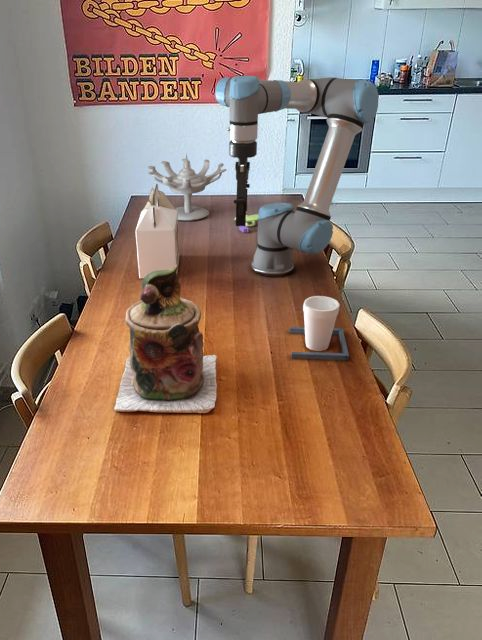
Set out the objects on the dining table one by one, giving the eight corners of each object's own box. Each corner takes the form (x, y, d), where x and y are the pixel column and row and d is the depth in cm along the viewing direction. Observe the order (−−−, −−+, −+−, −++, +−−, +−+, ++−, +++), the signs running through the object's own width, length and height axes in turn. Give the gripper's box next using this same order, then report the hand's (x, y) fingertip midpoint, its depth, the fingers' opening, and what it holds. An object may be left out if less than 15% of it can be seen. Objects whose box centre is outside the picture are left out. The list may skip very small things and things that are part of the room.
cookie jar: (127, 360, 158) (115, 248, 140) (217, 361, 157) (217, 247, 139) (112, 415, 137) (96, 291, 119) (216, 415, 136) (216, 290, 119)
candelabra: (157, 203, 279) (154, 144, 264) (230, 205, 275) (230, 144, 260) (142, 226, 251) (137, 161, 236) (222, 229, 246) (222, 162, 232)
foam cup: (297, 338, 166) (300, 296, 159) (328, 336, 167) (333, 295, 160) (304, 354, 159) (308, 312, 151) (338, 353, 159) (343, 310, 152)
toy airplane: (293, 236, 237) (294, 223, 234) (228, 233, 242) (229, 219, 239) (296, 222, 252) (297, 209, 249) (236, 219, 257) (236, 206, 254)
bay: (291, 358, 157) (291, 353, 156) (289, 331, 170) (289, 326, 169) (348, 360, 156) (349, 355, 155) (342, 332, 169) (342, 328, 168)
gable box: (145, 255, 222) (139, 181, 207) (179, 255, 222) (176, 180, 207) (139, 279, 204) (132, 199, 188) (176, 278, 203) (173, 198, 188)
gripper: (231, 131, 167) (230, 205, 179) (226, 150, 146) (226, 232, 158) (257, 131, 167) (255, 205, 178) (256, 150, 146) (253, 232, 157)
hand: (241, 218), depth 168 cm, fingers open, 13 cm apart
